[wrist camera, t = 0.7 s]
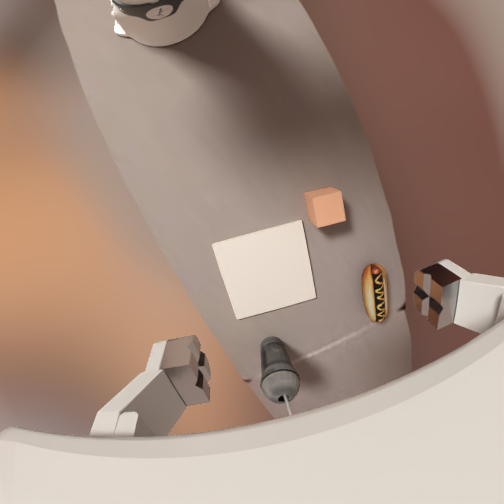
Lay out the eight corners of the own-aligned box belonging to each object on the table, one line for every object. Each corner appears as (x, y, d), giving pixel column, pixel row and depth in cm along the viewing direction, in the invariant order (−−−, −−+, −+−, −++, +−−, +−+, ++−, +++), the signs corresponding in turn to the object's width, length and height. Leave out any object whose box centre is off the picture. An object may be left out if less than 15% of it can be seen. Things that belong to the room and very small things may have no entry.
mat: (212, 243, 50) (211, 244, 49) (300, 219, 50) (301, 220, 49) (236, 317, 56) (237, 319, 55) (315, 296, 56) (316, 297, 55)
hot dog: (361, 316, 59) (371, 329, 54) (354, 264, 54) (365, 275, 49) (381, 308, 59) (391, 320, 54) (376, 256, 54) (388, 266, 49)
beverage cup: (273, 325, 57) (293, 399, 38) (294, 343, 59) (318, 414, 41) (247, 345, 58) (256, 420, 40) (269, 362, 61) (284, 434, 42)
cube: (303, 192, 48) (312, 198, 43) (330, 186, 48) (341, 191, 43) (309, 220, 50) (317, 227, 45) (335, 213, 50) (345, 220, 45)
